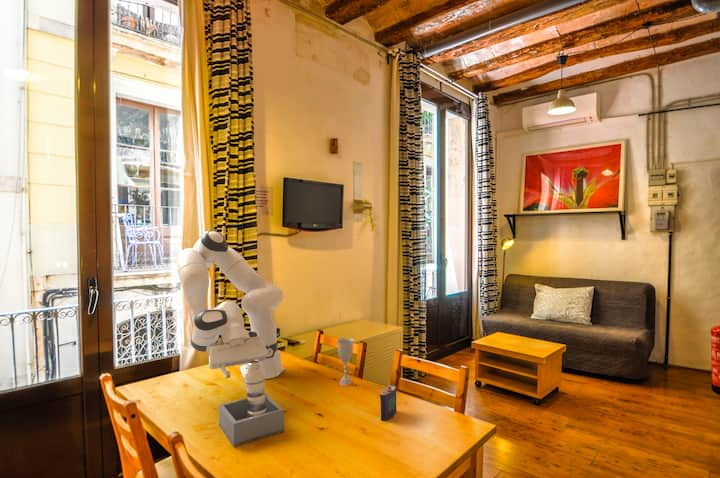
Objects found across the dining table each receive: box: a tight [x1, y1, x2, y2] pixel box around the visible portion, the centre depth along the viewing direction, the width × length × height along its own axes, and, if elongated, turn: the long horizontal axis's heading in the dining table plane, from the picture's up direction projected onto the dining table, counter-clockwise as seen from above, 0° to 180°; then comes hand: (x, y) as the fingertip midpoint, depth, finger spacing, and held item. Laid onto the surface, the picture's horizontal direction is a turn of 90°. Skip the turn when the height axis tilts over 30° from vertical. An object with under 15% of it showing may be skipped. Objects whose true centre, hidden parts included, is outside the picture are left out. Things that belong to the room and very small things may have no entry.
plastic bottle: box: [243, 360, 268, 418], centre depth 131 cm, size 6×7×20 cm
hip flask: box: [379, 384, 397, 422], centre depth 138 cm, size 9×3×11 cm, turn 148°
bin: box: [218, 393, 285, 448], centre depth 130 cm, size 16×16×7 cm
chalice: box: [336, 337, 355, 386], centre depth 168 cm, size 7×7×18 cm
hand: (242, 374), depth 140 cm, fingers open, 8 cm apart
